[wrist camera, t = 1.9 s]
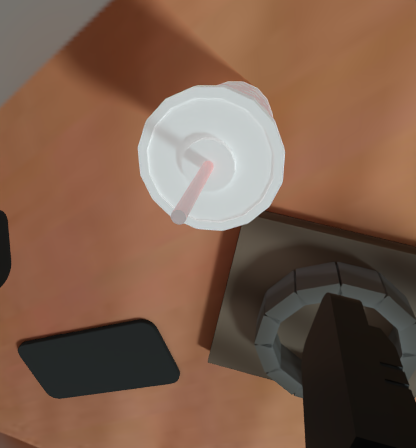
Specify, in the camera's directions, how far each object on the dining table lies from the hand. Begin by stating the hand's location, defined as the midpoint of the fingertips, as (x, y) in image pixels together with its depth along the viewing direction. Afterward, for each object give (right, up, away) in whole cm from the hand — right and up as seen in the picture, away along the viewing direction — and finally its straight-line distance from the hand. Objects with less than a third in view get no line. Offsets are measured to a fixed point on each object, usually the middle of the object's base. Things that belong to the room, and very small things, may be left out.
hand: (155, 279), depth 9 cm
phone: (-9, -11, +27) cm, 30 cm away
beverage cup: (+3, +8, +14) cm, 17 cm away
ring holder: (+10, -5, +19) cm, 22 cm away
